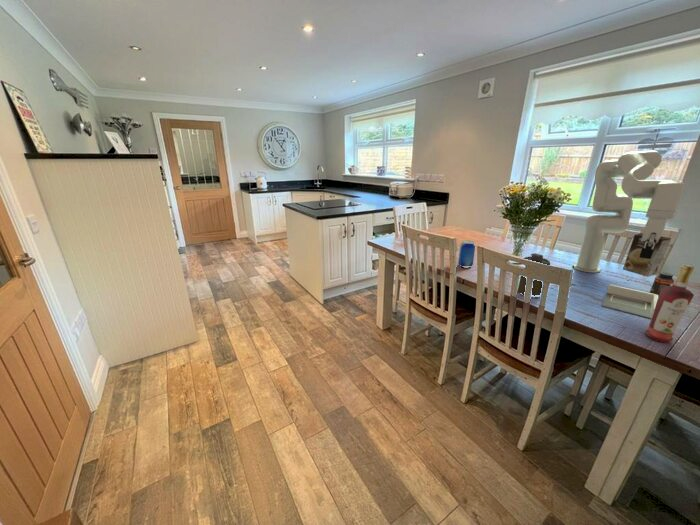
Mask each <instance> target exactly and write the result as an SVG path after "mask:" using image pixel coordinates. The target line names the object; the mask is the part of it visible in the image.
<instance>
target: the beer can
mask: <svg viewBox="0 0 700 525" xmlns="http://www.w3.org/2000/svg"><path fill="white" fill-rule="evenodd" d="M475 251H476V244H475V241H473V240H468V239H467V240H463V241H462V242H461V243H460V245H459V255H458V262H457V264H459V265H461V266H472V265H474V260H475V254H476V253H475ZM459 265H458V266H459ZM472 267H473V266H472Z"/></svg>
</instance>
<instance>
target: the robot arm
mask: <svg viewBox="0 0 700 525" xmlns="http://www.w3.org/2000/svg"><path fill="white" fill-rule="evenodd" d="M662 159H663V158H662V155H661V153H660V152H659V151H658V150H657V151H656V150H642V151H641V150H640V151H636V150H635V151H629V152H628V151H627V152H626V153H623V154H622V155H620V156H619V158H618V159H611V160H610V159H609V160H604V161H602V162H600V163H598V165H597V166H596V169H595V172H594V179H595V190H594V195H593V196H594V197H593V199H592V210H593V212H595V213H605V214H594V215H591V216H589V217H587V219H586V221H585V225H584V226H585V228H584V235H583V239H582V244H581V247H580V251H579V255H578V258H577V262H576V263H573V264H572V267H573V266H574V268H573V269H574V270H577V271H581V272H584V273H591V274H592V273H593V274H594V273H600V272H601V270H602V269H601V268H600V267H599V265H600V262H601V258H602V254H603V253H604V252H603V251H604V247H605V244H606V238H605V237H604V234H621V233H624V232H626V231H627V229H628V227H629V223H630V220H631V214H632V210H633V205H634V201H633V199H634V200H635V199H636V200H637V199H640V200H641V199H642V200H643V199H646V200H647V199H648V200H649V199H650V202H649V205H648V208H647V211H646V214H645V217H646V219H647V218H648V219H647V220H646V223H645V227H644V229H643V232H642V233H643V234H642V238H641V242H643V241H645V245H644V248H642V251H641V254H640V258H646V259H650V258H651V256H652V253H653V251H654V246H655V244H656V243H658V241H659V239H660V238H661V236H662V235H663V233H664V231H665V228H666V225H667V223H668V220H673V219H674V218H675V215H676V212H677V209H678V206H679V204H680V201H681V199H682V196H683V193H684V191H685V189H686V184H685V183H684V182H681V181H673V180H671V179H648V178H649V177H651V176H652V175H653V173H654V170H656V169H657V168H658V167H659V166H660V164H661V163H662ZM614 178H622V181H621V189H622V190H621V191H622V192H623V193H624V194H617V189H618V183H617V182H616V180H615V179H614ZM606 213H607V214H606ZM609 213H610V215H609ZM611 213H612V214H613V215H611ZM614 214H615V215H614ZM650 235H651V236H650ZM654 239H656V240H657V241H654ZM647 240H649V241H647Z"/></svg>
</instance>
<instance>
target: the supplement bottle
mask: <svg viewBox="0 0 700 525" xmlns="http://www.w3.org/2000/svg"><path fill="white" fill-rule="evenodd" d="M673 277H674V274H672V273H669V272H666V271H665V272H663V271H661V272H659V275H658V276H655V277H654V279H653V283H652V285H651V288H650V290H649V293H653V294H657V295H658V297H659V294H660V291H661V288H662V287H666V286H673V284H674V282H675V280H674V278H673Z"/></svg>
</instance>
